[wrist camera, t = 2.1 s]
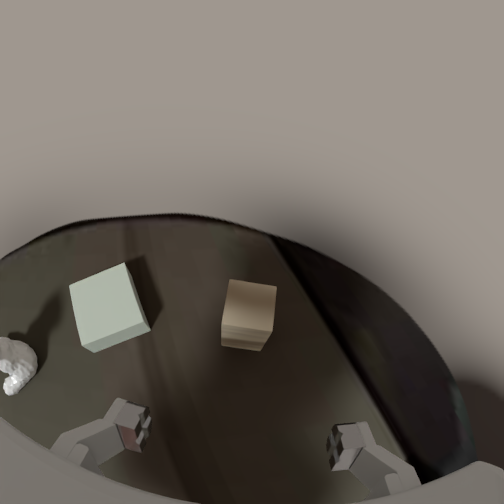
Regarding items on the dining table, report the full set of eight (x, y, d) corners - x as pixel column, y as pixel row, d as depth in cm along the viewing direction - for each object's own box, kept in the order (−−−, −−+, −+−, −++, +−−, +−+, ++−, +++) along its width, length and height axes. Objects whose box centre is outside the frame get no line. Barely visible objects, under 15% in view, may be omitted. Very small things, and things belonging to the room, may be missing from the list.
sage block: (94, 353, 30) (82, 345, 27) (80, 297, 34) (69, 285, 31) (151, 331, 33) (143, 321, 30) (131, 276, 37) (124, 262, 34)
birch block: (260, 351, 33) (272, 331, 26) (221, 345, 33) (221, 323, 26) (264, 315, 36) (276, 286, 29) (227, 310, 36) (229, 279, 28)
